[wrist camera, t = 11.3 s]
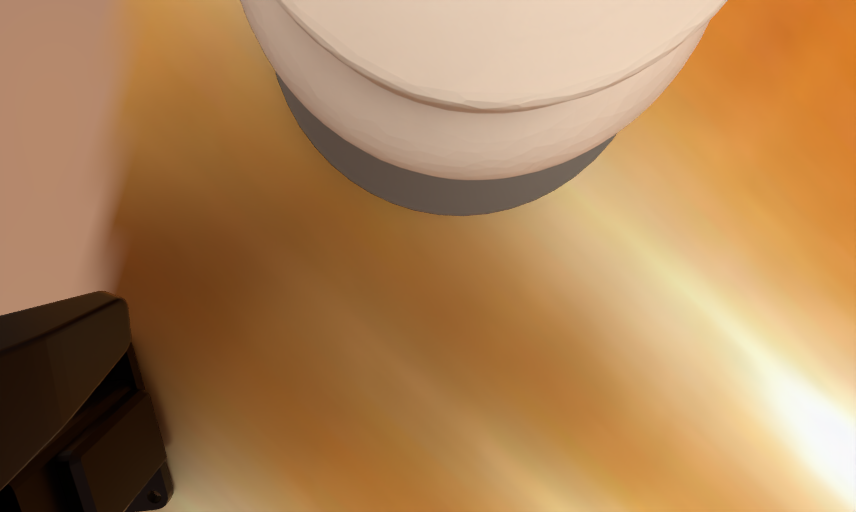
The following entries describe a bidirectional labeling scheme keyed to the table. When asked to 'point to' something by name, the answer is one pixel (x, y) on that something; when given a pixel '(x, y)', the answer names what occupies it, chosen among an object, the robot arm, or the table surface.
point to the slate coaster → (427, 189)
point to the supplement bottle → (478, 74)
